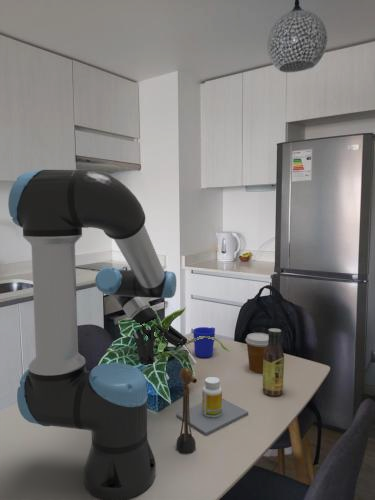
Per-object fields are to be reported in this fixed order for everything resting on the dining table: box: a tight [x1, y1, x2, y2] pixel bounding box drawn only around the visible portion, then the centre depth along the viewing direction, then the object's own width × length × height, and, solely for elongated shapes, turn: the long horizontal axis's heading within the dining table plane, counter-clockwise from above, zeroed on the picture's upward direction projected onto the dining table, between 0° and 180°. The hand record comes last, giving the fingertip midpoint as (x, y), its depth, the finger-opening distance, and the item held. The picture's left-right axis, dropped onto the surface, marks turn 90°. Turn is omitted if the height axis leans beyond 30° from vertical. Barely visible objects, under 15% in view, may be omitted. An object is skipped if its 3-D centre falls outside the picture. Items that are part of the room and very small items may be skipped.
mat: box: [175, 397, 249, 437], centre depth 109 cm, size 16×12×1 cm
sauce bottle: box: [262, 327, 285, 397], centre depth 122 cm, size 7×6×20 cm
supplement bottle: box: [201, 376, 223, 418], centre depth 108 cm, size 5×5×10 cm
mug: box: [192, 326, 216, 359], centre depth 154 cm, size 8×12×10 cm
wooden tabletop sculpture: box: [175, 366, 198, 455], centre depth 93 cm, size 6×5×20 cm
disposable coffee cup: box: [245, 332, 269, 374], centre depth 139 cm, size 10×10×12 cm
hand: (180, 373), depth 114 cm, fingers open, 13 cm apart
